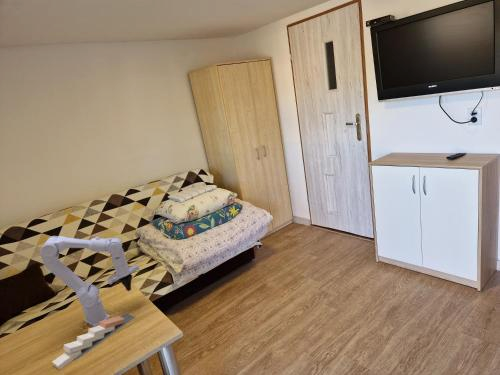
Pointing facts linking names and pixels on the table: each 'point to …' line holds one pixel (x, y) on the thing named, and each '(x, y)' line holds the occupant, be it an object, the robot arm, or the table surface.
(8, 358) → the table surface
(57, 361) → the domino
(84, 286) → the robot arm
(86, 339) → the domino
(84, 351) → the mat
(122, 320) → the domino
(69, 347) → the domino
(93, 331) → the domino
